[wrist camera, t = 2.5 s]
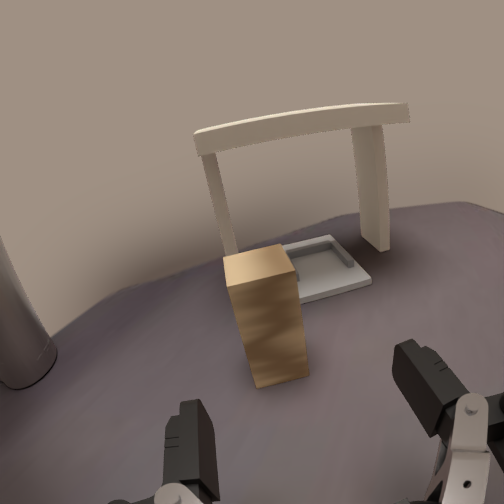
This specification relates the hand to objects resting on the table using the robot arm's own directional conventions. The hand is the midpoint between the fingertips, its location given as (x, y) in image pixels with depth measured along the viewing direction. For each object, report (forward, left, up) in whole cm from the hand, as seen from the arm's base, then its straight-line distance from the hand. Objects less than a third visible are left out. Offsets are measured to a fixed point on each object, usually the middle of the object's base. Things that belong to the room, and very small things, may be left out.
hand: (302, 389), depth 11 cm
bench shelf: (+8, +25, -10) cm, 28 cm away
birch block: (0, +11, -10) cm, 15 cm away
